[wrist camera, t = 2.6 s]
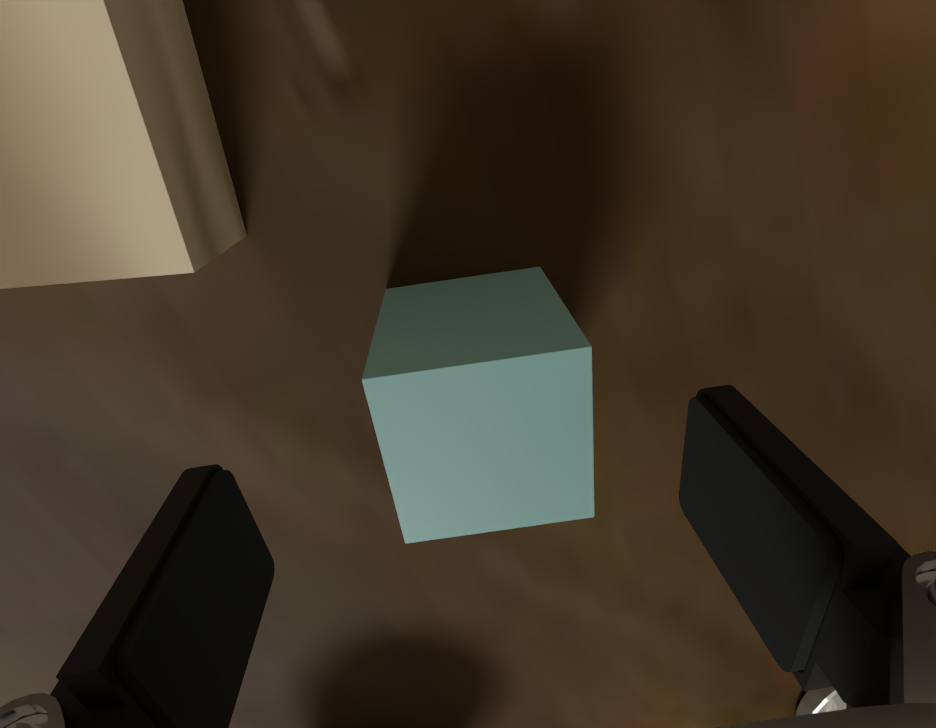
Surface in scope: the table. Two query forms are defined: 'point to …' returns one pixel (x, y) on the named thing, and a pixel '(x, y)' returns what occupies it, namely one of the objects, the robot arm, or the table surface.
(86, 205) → the base
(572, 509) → the block
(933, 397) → the table surface
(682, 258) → the table surface
